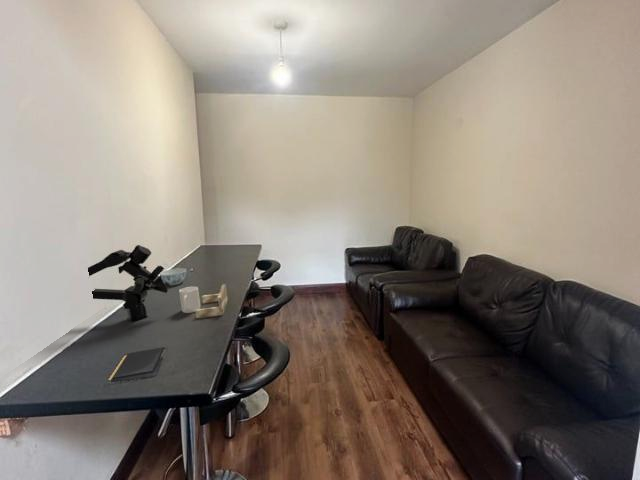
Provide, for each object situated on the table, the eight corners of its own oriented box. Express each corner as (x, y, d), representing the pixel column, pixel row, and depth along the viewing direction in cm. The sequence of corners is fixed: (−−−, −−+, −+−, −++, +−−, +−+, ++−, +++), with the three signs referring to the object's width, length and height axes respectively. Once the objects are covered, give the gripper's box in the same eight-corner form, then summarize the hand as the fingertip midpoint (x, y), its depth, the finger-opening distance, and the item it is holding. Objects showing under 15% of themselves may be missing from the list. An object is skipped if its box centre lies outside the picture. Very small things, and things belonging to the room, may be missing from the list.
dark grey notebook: (154, 373, 103) (100, 382, 100) (155, 379, 103) (101, 388, 101) (169, 343, 122) (124, 350, 120) (170, 348, 123) (124, 355, 120)
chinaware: (163, 282, 212) (161, 270, 211) (188, 278, 216) (187, 267, 215) (159, 289, 198) (157, 276, 197) (187, 284, 202) (185, 272, 201)
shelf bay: (196, 318, 148) (193, 301, 147) (203, 302, 168) (201, 286, 167) (223, 314, 150) (221, 297, 149) (227, 299, 170) (225, 284, 169)
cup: (202, 305, 164) (199, 285, 162) (195, 315, 152) (192, 293, 150) (185, 307, 163) (182, 287, 161) (176, 317, 151) (173, 295, 150)
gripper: (117, 293, 149) (148, 313, 153) (132, 272, 139) (164, 294, 143) (134, 276, 158) (162, 296, 162) (148, 256, 148) (179, 277, 152)
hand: (166, 291), depth 154 cm, fingers closed
